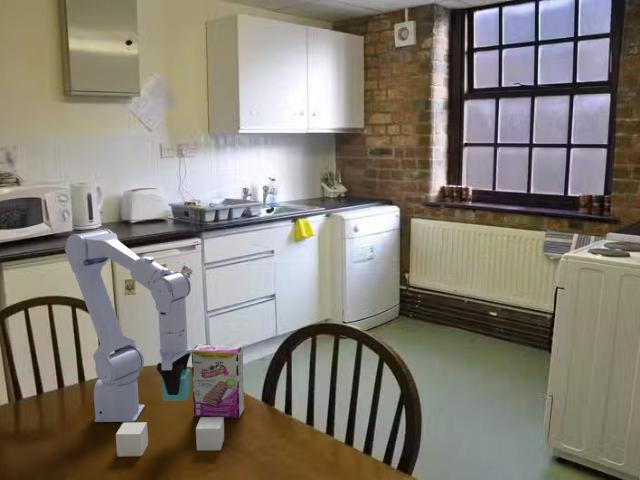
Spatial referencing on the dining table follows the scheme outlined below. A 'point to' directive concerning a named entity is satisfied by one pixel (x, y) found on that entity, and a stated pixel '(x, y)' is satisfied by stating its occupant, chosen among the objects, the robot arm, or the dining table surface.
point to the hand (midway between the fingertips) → (176, 388)
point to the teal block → (183, 390)
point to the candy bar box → (218, 381)
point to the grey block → (210, 433)
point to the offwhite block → (132, 439)
